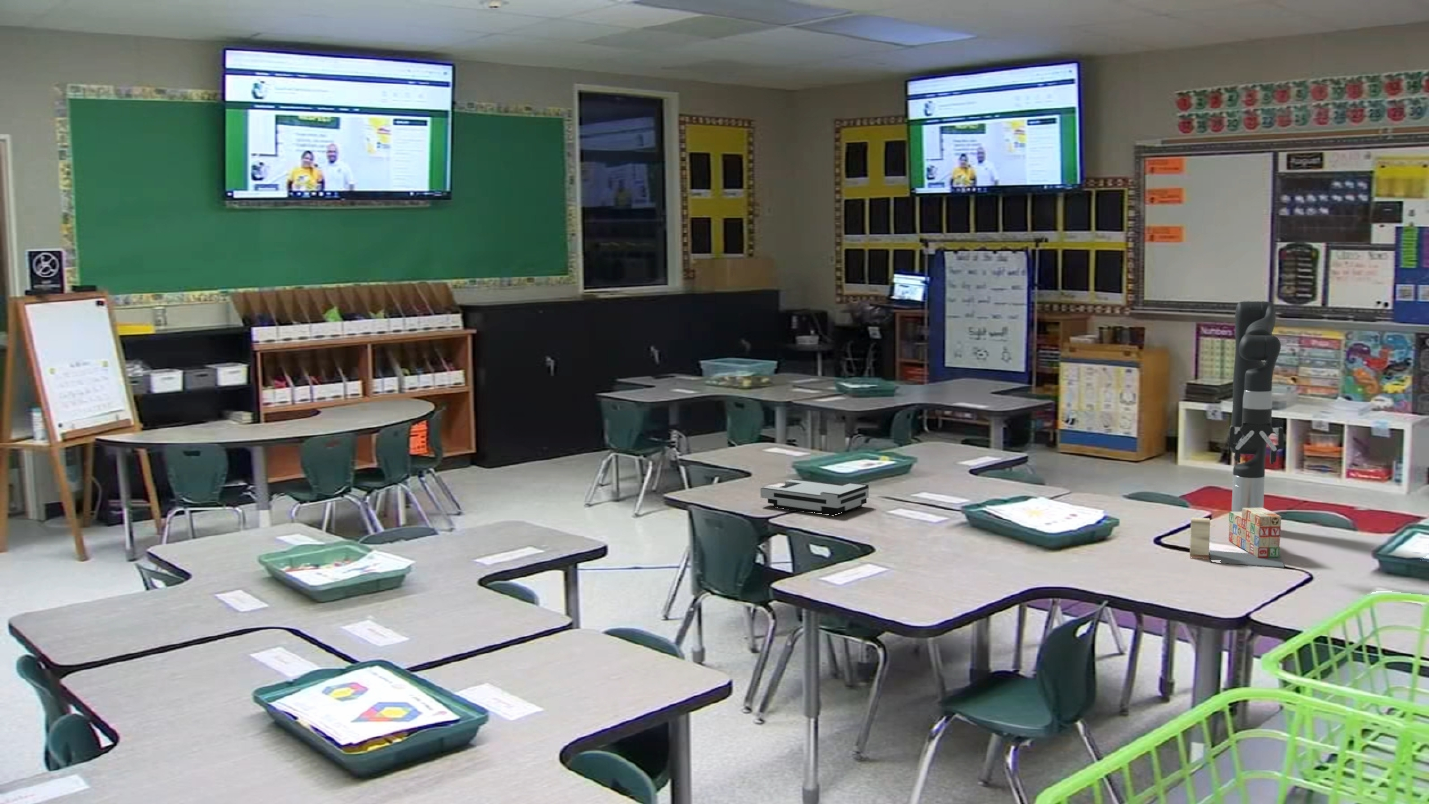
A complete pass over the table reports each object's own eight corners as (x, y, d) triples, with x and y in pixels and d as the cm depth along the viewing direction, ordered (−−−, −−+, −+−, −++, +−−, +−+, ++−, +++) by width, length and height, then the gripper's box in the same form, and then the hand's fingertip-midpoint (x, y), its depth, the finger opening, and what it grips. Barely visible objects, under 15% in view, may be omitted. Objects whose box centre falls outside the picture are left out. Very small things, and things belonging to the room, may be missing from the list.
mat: (1209, 551, 357) (1209, 550, 357) (1280, 556, 350) (1280, 555, 350) (1211, 562, 345) (1211, 561, 345) (1284, 568, 338) (1284, 566, 338)
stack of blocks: (1227, 541, 369) (1229, 501, 368) (1248, 541, 369) (1250, 501, 368) (1258, 557, 348) (1259, 515, 346) (1279, 557, 348) (1281, 515, 346)
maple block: (1189, 553, 355) (1191, 517, 354) (1208, 555, 353) (1209, 518, 352) (1190, 558, 351) (1191, 521, 349) (1208, 559, 349) (1210, 522, 347)
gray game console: (793, 497, 445) (793, 475, 444) (868, 507, 426) (868, 484, 425) (760, 507, 429) (760, 485, 428) (837, 518, 410) (837, 495, 409)
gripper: (1283, 405, 340) (1281, 461, 342) (1228, 403, 344) (1226, 459, 347) (1286, 408, 333) (1284, 466, 335) (1230, 407, 337) (1228, 464, 340)
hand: (1254, 463), depth 341 cm, fingers open, 8 cm apart
